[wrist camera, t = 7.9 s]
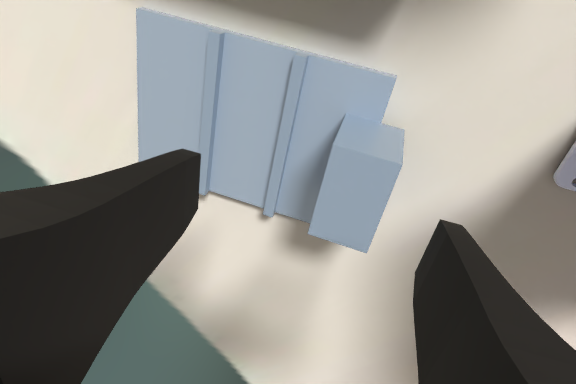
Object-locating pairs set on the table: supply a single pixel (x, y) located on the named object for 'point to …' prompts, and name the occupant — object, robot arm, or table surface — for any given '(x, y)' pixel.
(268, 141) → the lid
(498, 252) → the table surface
